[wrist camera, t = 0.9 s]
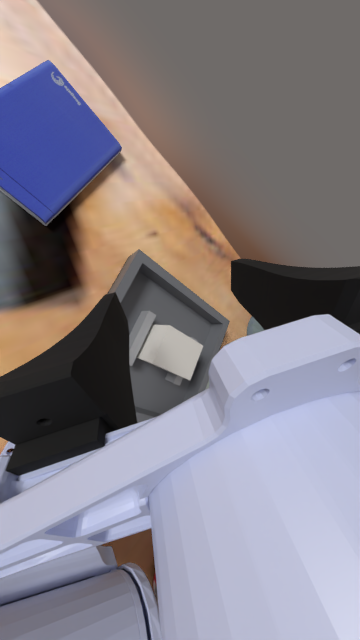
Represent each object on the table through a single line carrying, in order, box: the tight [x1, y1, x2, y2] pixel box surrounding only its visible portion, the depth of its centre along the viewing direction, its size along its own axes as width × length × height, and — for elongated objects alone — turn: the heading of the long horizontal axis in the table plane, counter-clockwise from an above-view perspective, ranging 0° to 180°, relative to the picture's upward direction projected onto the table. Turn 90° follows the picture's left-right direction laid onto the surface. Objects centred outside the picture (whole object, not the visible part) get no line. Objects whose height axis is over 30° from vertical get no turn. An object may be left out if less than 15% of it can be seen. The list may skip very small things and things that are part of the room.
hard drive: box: [0, 60, 122, 226], centre depth 18 cm, size 2×8×12 cm
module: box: [137, 325, 203, 380], centre depth 22 cm, size 4×5×5 cm
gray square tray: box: [108, 250, 230, 423], centre depth 23 cm, size 16×16×3 cm
